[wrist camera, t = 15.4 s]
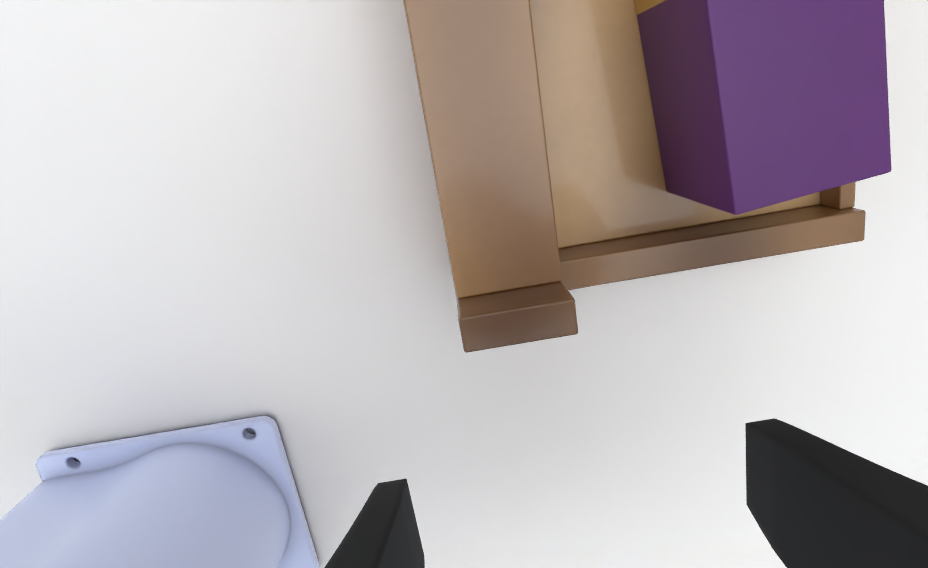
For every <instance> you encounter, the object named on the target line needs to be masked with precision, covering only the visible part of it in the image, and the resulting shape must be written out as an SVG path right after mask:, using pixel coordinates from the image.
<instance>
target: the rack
mask: <svg viewBox="0 0 928 568" xmlns="http://www.w3.org/2000/svg"><path fill="white" fill-rule="evenodd" d="M404 5H405V11H406V17H407V22H408V28H409V34H410V39H411V45H412V50H413V56H414V62H415V67H416V73H417V78H418V84H419V90H420V95H421V101H422V107H423V112H424V118H425V123H426V129H427V135H428V140H429V146H430V152H431V157H432V163H433V168H434V174H435V180H436V185H437V191H438V196H439V202H440V208H441V213H442V219H443V225H444V230H445V236H446V241H447V247H448V253H449V258H450V264H451V270H452V275H453V281H454V286H455V292H456V297H457V306H458V320H459V325H460V331H461V337H462V342H463V348H464V351H465V352H472V351H478V350H484V349H490V348H496V347H502V346H508V345H514V344H520V343H526V342H532V341H538V340H544V339H550V338H556V337H562V336H568V335H574V334H578V326H577V317H576V308H575V300H574V298H573V297H572V296H571V294H570V293H569V291H568V290H571V289H577V288H583V287H589V286H595V285H601V284H607V283H613V282H619V281H625V280H631V279H637V278H643V277H649V276H655V275H661V274H667V273H672V272H678V271H684V270H690V269H696V268H702V267H708V266H714V265H720V264H726V263H732V262H738V261H744V260H750V259H756V258H762V257H768V256H774V255H780V254H786V253H792V252H798V251H804V250H810V249H816V248H822V247H828V246H834V245H840V244H846V243H852V242H858V241H863V240H864V230H865V211H864V210H860V209H856V208H852V207H854V201H855V182H853V183H849V184H845V185H842V186H838V187H835V188H831V189H828V190H824V191H820V192H817V193H813V194H810V195H806V196H802V197H799V198H795V199H792V200H788V201H785V202H781V203H777V204H774V205H770V206H767V207H763V208H760V209H756V210H752V211H749V212H745V213H742V214H738V215H734V214H731V213H728V212H725V211H722V210H719V209H716V208H713V207H710V206H707V205H704V204H701V203H698V202H695V201H692V200H690V199H687V198H684V197H681V196H678V195H675V194H672V193H669V192H667V191H666V185H665V179H664V173H663V167H662V161H661V155H660V149H659V143H658V137H657V132H656V126H655V120H654V114H653V108H652V102H651V96H650V90H649V84H648V78H647V72H646V66H645V60H644V54H643V48H642V43H641V37H640V31H639V25H638V19H637V15H636V11H635V5H634V0H404Z"/></svg>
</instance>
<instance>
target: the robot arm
mask: <svg viewBox="0 0 928 568" xmlns="http://www.w3.org/2000/svg"><path fill="white" fill-rule="evenodd" d="M246 428H251V429H253V430H254V431H255V432H256V434H250V433H248V432H247V430H246ZM73 457H75V458H77V459H78V460H79V461H80V463H79V462H77V461H75V460H74V459H73ZM36 468H37V470H38V472H39V475H40V477H41V479H42V481H43V482H42V483H41V484H40V485H38V486H37V487H36V488H35V489H34V490H33V491H32V492H31V493H30V494H29V495H27V496H26V497H25V498H24V499H23V500H22V501H21V502H20V503H19V504H17V505H16V506H15V507H14V508H13V509H12V510H11V511H10V512H9V513H8V514H6V515H5V516H4V517H3V518H2V519H1V520H0V568H320V565H319V562H318V558H317V555H316V552H315V549H314V545H313V542H312V539H311V535H310V532H309V529H308V525H307V522H306V519H305V515H304V512H303V509H302V506H301V502H300V499H299V496H298V492H297V489H296V486H295V482H294V479H293V476H292V472H291V469H290V466H289V463H288V459H287V456H286V453H285V449H284V446H283V443H282V439H281V436H280V433H279V430H278V426H277V424H276V422H275V421H274V420H273V419H272V418H270V417H267V416H258V417H252V418H246V419H240V420H234V421H228V422H222V423H216V424H210V425H204V426H198V427H192V428H186V429H180V430H174V431H168V432H162V433H156V434H150V435H144V436H138V437H131V438H125V439H119V440H113V441H107V442H101V443H95V444H89V445H83V446H77V447H71V448H65V449H59V450H53V451H48V452H46V453H44V454H43V455H42V456H41V457H39V459H38V460H37V461H36ZM746 489H747V506H748V508H749V509H750V511H751V513H752V515H753V516H754V518H755V520H756V521H757V523H758V525H759V527H760V528H761V530H762V532H763V533H764V535H765V537H766V538H767V540H768V542H769V543H770V545H771V546H772V548H773V550H774V551H775V552H776V554H777V555H778V556H779V558H780V559H781V560H782V562H783V563H784V564H785V566H786V567H787V568H928V486H927V485H925V484H922V483H920V482H917V481H915V480H912V479H910V478H908V477H905V476H903V475H901V474H898V473H896V472H894V471H891V470H889V469H887V468H884V467H882V466H880V465H878V464H875V463H873V462H871V461H869V460H866V459H864V458H862V457H860V456H858V455H855V454H853V453H851V452H849V451H847V450H845V449H842V448H840V447H838V446H836V445H834V444H832V443H829V442H827V441H825V440H823V439H821V438H819V437H816V436H814V435H812V434H810V433H808V432H806V431H803V430H801V429H799V428H797V427H794V426H792V425H790V424H787V423H785V422H782V421H780V420H777V419H769V420H763V421H756V422H750V423H746ZM325 568H425V565H424V553H423V549H422V544H421V540H420V536H419V531H418V527H417V523H416V518H415V514H414V509H413V505H412V501H411V496H410V492H409V488H408V483H407V479H401V480H395V481H389V482H383V483H378V484H377V485H376V487H375V488H374V489H373V491H372V493H371V495H370V496H369V498H368V500H367V501H366V503H365V505H364V506H363V508H362V510H361V512H360V513H359V515H358V517H357V518H356V520H355V521H354V523H353V525H352V526H351V528H350V530H349V531H348V533H347V534H346V536H345V537H344V539H343V540H342V542H341V544H340V545H339V547H338V548H337V550H336V551H335V553H334V554H333V556H332V557H331V559H330V560H329V562H328V563H327V565H326V566H325Z"/></svg>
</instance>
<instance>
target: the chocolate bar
mask: <svg viewBox="0 0 928 568" xmlns="http://www.w3.org/2000/svg"><path fill="white" fill-rule="evenodd" d="M634 5H635V11H636V15H637V19H638V25H639V31H640V37H641V43H642V48H643V54H644V60H645V66H646V72H647V78H648V84H649V90H650V96H651V102H652V108H653V114H654V120H655V126H656V132H657V137H658V143H659V149H660V155H661V161H662V167H663V173H664V179H665V185H666V191H667V192H669V193H672V194H675V195H678V196H681V197H684V198H687V199H690V200H692V201H695V202H698V203H701V204H704V205H707V206H710V207H713V208H716V209H719V210H722V211H725V212H728V213H731V214H734V215H738V214H742V213H745V212H749V211H752V210H756V209H760V208H763V207H767V206H770V205H774V204H777V203H781V202H785V201H788V200H792V199H795V198H799V197H802V196H806V195H810V194H813V193H817V192H820V191H824V190H828V189H831V188H835V187H838V186H842V185H845V184H849V183H853V182H856V181H860V180H863V179H867V178H870V177H874V176H878V175H881V174H885V173H888V172H890V171H891V154H890V131H889V108H888V85H887V62H886V39H885V17H884V0H634Z"/></svg>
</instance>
